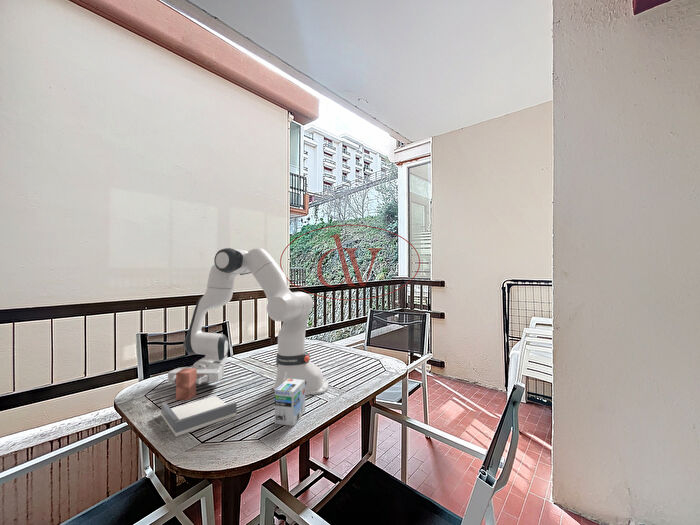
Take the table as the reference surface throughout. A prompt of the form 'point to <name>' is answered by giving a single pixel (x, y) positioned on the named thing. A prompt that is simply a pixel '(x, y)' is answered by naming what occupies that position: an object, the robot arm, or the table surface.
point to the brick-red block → (186, 384)
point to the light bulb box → (289, 402)
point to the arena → (197, 414)
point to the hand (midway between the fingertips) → (185, 381)
